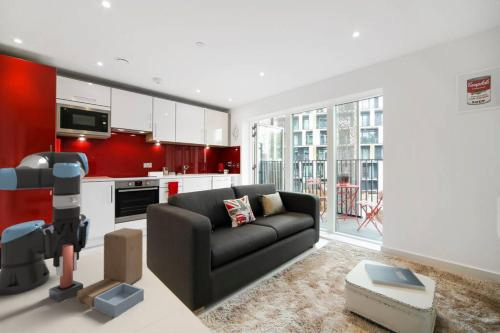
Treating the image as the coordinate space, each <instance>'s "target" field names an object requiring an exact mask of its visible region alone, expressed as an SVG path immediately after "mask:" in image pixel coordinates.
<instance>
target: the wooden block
mask: <svg viewBox="0 0 500 333" xmlns="http://www.w3.org/2000/svg"><path fill="white" fill-rule="evenodd" d="M143 235H144V234H143V230H142V229H137V228H127V227H122V228H120V229H119V228H118V229H117V230H113V231H110V232H108V233H105V234H104V236H103V279H105V278H109V279H112V280H115V281H118V282H121V284H122V283H126V284H129V285H133V284H134V283H136V282H137V281H139V280H140V279H142V277H143V252H144V251H143V250H144V249H143V242H144V240H143V238H144V236H143Z"/></svg>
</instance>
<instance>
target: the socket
mask: <svg viewBox="0 0 500 333" xmlns="http://www.w3.org/2000/svg"><path fill="white" fill-rule="evenodd" d="M83 288H84V284H83V283H82V282H80V281H76V280H75V279H73V285H71V286H69V287H66V288H60V284H58V285H55V286H53V287H51V288H49V289H48V298H49V299H52V300H54V301H56V302H58V303H60V304H61V303H62V302H65V301H68V300H69V299H71V298H73V297H77V291H78V290H81V289H83Z"/></svg>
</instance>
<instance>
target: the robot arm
mask: <svg viewBox="0 0 500 333" xmlns="http://www.w3.org/2000/svg"><path fill="white" fill-rule="evenodd" d="M19 163H20V164H19V165H18V166H16V167H5V168H0V190H2V191H3V190H4V191H6V190H7V191H9V190H10V191H16V190H18V191H19V190H34V189H35V190H37V189H52V207H53V209H52V222H51V223H45V221H44V220H41V219H39V220H32V221H27V222H21V223H18V224H14V225H11V226H9V227H7V228H4V229H3V231H2V233H1V237H0V238H1V239H0V251H1V252H0V254H1V255H0V256H1V257H0V259H1V260H0V264H1V265H0V266H1V267H0V296H7V295H14V294H19V293H22V292H27V291H29V290H33V289H36V288H38V287H40V286H42V285H44V284H45V283H47V282H48V281H49V280H50V279H51V277H50V276H51V274H50V270H49V268H48V266H47V263H46V261H45V256H46V257H47V258H50V259H52V263H53V264H52V266H53V267H54V268H55V276H59V277H60V276H63V257H62V256H60V255H61V250H62V246H63V245H67V244H73V272H76V271H77V269H78V266H77V265H78V262H77V261H78V260H79V259H80V252H81V251H82V249H85V248H86V245H87V244H88V241H89V235H90V234H89V233H90V227H91V226H90V225H91V220H90V218H87V217H86V215H85V214H84V213H83V210H82V208H83V206H82V204H83V203H82V202H83V201H82V199H83V198H82V196H83V193H82V192H83V189H82V188H83V187H82V184H83V183H82V179H83V178H84V177H85V176H86V175H88V174H89V164H88V157H87V156H86V154H85V153H82V152H68V151H67V152H62V151H44V152H43V151H41V152H37V153H33V154H30V155H27V156H25V157H24V158H23V159H22V160H21V161H20V162H19Z"/></svg>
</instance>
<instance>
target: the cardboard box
mask: <svg viewBox="0 0 500 333" xmlns="http://www.w3.org/2000/svg"><path fill="white" fill-rule="evenodd" d="M120 284H121V282H118V281H115V280H112V279H109V278H105V279H104V278H103V279H101V280H99V281H97V282H95V283H91V284H90V285H87V286H86V287H83V289H81V290H78V291H77V295H76V298H77V303H79V304H81V305H84V306H85V307H88V308H91V309H93V308H94V297H96V296H98V295H100V294H102V293H104V292H106V291H108V290H110V289H112V288H114V287H116V286H118V285H120Z"/></svg>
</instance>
